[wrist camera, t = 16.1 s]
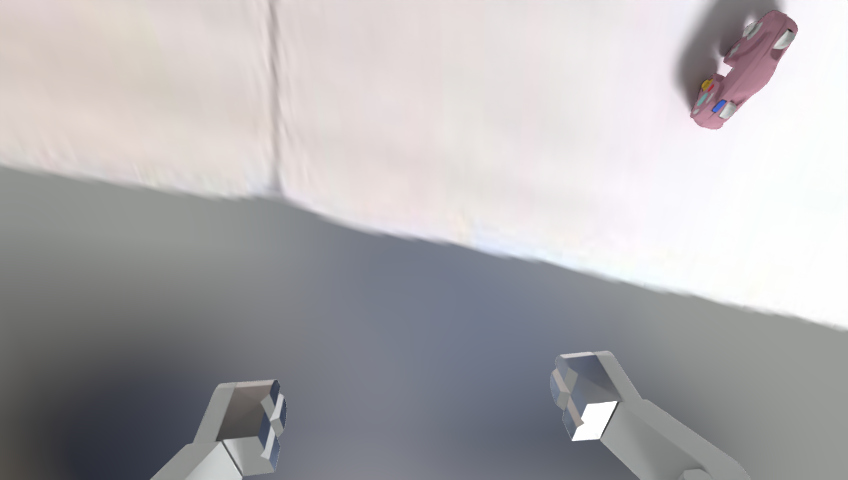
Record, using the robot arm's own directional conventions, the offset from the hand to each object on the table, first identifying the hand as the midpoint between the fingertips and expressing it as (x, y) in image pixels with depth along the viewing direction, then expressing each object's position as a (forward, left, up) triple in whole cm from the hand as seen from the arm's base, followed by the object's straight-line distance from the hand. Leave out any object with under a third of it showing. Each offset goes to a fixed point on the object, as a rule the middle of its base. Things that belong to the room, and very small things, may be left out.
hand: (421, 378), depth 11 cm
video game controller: (+31, -8, -29) cm, 43 cm away
